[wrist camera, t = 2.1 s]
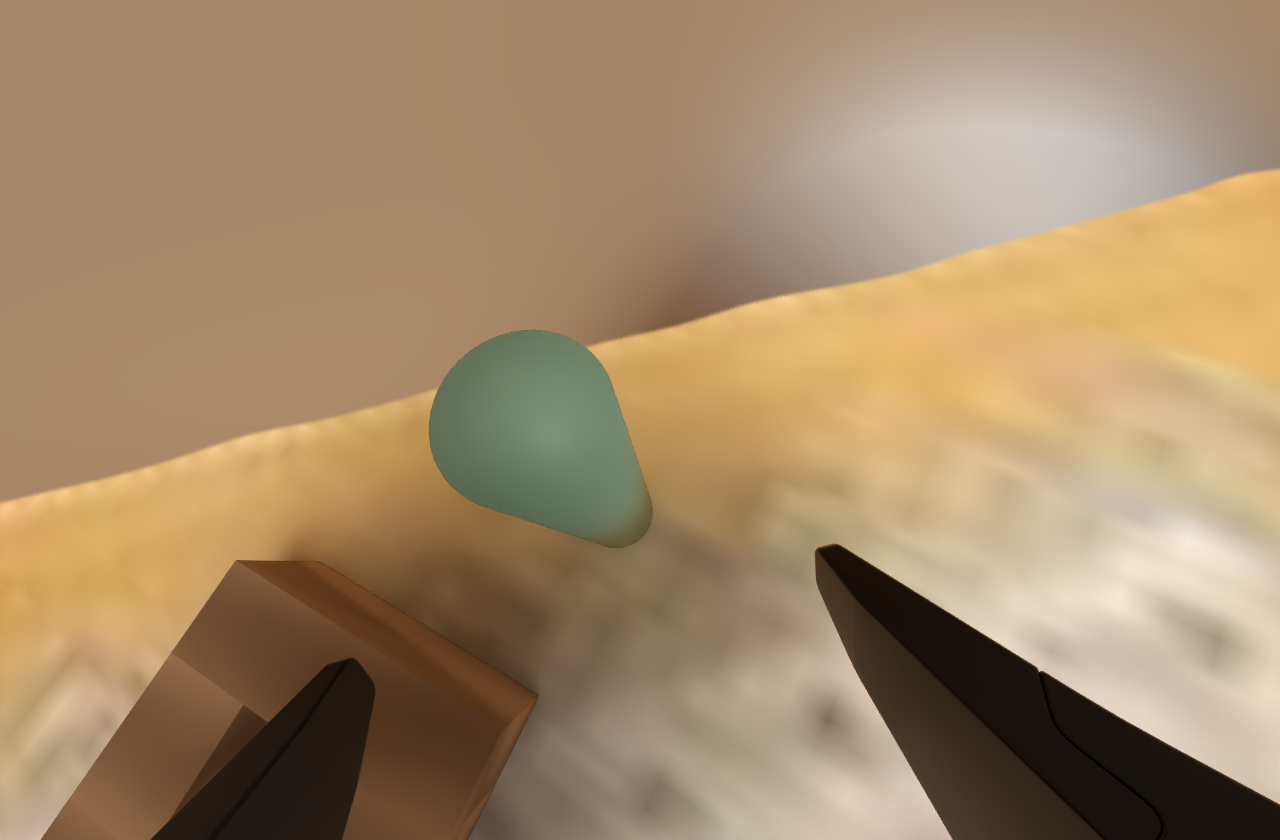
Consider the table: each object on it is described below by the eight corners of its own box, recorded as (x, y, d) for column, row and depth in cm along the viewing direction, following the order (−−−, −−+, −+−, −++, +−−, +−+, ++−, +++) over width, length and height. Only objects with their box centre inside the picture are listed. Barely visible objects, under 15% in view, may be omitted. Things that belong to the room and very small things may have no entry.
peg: (632, 560, 19) (557, 546, 7) (569, 527, 20) (392, 459, 7) (664, 494, 20) (649, 372, 7) (602, 464, 20) (491, 304, 8)
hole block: (370, 1036, 15) (269, 1193, 11) (138, 840, 17) (-14, 917, 13) (539, 695, 18) (502, 730, 14) (319, 561, 20) (236, 560, 16)
